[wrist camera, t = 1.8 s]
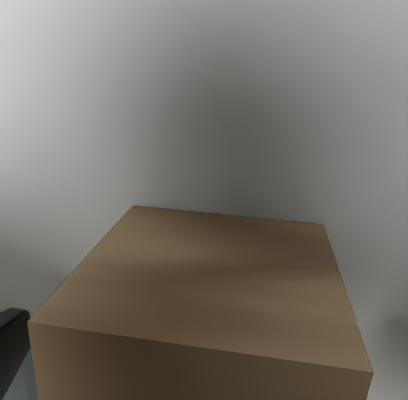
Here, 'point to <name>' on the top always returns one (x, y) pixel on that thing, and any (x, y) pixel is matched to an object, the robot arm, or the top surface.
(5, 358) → the robot arm
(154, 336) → the walnut cube
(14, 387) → the slate pad
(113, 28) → the top surface
